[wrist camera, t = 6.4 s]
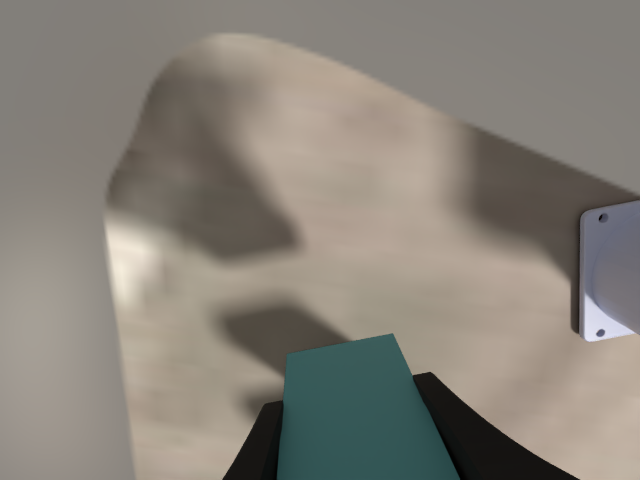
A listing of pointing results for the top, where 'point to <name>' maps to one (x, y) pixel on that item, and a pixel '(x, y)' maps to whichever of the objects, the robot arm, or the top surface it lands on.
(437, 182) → the top surface
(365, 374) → the teal rectangular block
